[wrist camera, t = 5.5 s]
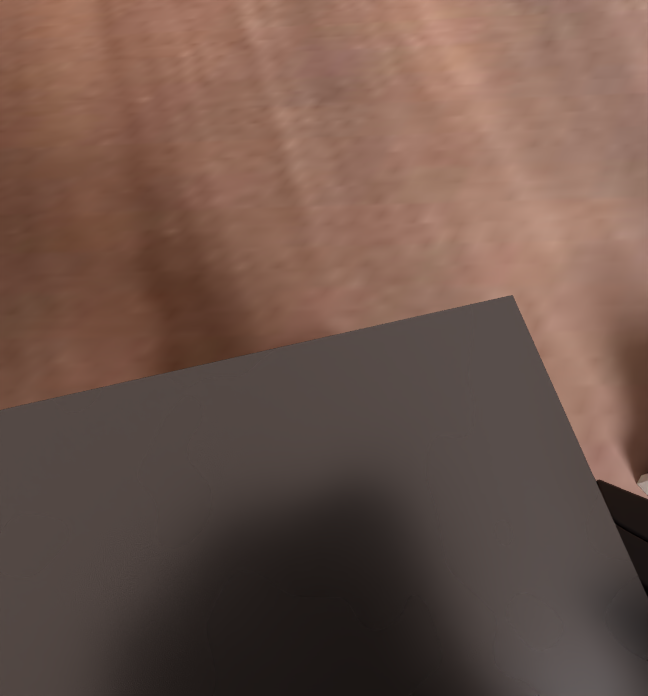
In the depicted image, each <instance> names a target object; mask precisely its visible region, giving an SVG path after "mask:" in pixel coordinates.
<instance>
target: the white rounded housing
mask: <svg viewBox="0 0 648 696" xmlns="http://www.w3.org/2000/svg"><path fill="white" fill-rule="evenodd" d="M637 484H638V486H639V487H640V488H641V489H642V490H643V491H644V492H645V493H646V494H647V495H648V474H644V475H641V477H640V479H639V480H638V482H637Z"/></svg>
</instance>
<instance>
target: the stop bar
mask: <svg viewBox="0 0 648 696" xmlns="http://www.w3.org/2000/svg"><path fill="white" fill-rule="evenodd" d="M0 696H648V597H647V595H646V592H645V590H644V588H643V586H642V584H641V581H640V579H639V577H638V575H637V572H636V570H635V568H634V566H633V563H632V561H631V559H630V557H629V554H628V552H627V550H626V548H625V546H624V543H623V541H622V539H621V537H620V534H619V532H618V530H617V528H616V525H615V523H614V521H613V519H612V516H611V514H610V512H609V510H608V507H607V505H606V503H605V501H604V499H603V496H602V494H601V492H600V490H599V487H598V485H597V483H596V481H595V478H594V476H593V474H592V472H591V469H590V467H589V465H588V463H587V461H586V458H585V456H584V454H583V452H582V449H581V447H580V445H579V443H578V440H577V438H576V436H575V434H574V431H573V429H572V427H571V425H570V422H569V420H568V418H567V416H566V414H565V411H564V409H563V407H562V405H561V402H560V400H559V398H558V396H557V393H556V391H555V389H554V387H553V384H552V382H551V380H550V378H549V376H548V373H547V371H546V369H545V367H544V364H543V362H542V360H541V358H540V355H539V353H538V351H537V349H536V346H535V344H534V342H533V340H532V337H531V335H530V333H529V331H528V329H527V326H526V324H525V322H524V320H523V317H522V315H521V313H520V311H519V308H518V306H517V304H516V302H515V299H514V297H513V295H511V296H506V297H502V298H497V299H493V300H488V301H484V302H479V303H475V304H470V305H466V306H462V307H457V308H453V309H448V310H444V311H439V312H435V313H430V314H426V315H421V316H417V317H413V318H408V319H404V320H399V321H395V322H390V323H386V324H381V325H377V326H372V327H368V328H364V329H359V330H355V331H350V332H346V333H341V334H337V335H332V336H328V337H323V338H319V339H315V340H310V341H306V342H301V343H297V344H292V345H288V346H283V347H279V348H275V349H270V350H266V351H261V352H257V353H252V354H248V355H243V356H239V357H234V358H230V359H226V360H221V361H217V362H212V363H208V364H203V365H199V366H194V367H190V368H185V369H181V370H177V371H172V372H168V373H163V374H159V375H154V376H150V377H145V378H141V379H136V380H132V381H128V382H123V383H119V384H114V385H110V386H105V387H101V388H96V389H92V390H87V391H83V392H79V393H74V394H70V395H65V396H61V397H56V398H52V399H47V400H43V401H38V402H34V403H30V404H25V405H21V406H16V407H12V408H7V409H3V410H0Z"/></svg>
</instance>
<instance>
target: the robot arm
mask: <svg viewBox="0 0 648 696" xmlns="http://www.w3.org/2000/svg"><path fill="white" fill-rule="evenodd" d="M595 481H596V480H595ZM596 483H597V485H598V487H599V490H600V492H601V494H602V496H603V499H604V501H605V503H606V505H607V507H608V510H609V512H610V514H611V516H612V519H613V521H614V523H615V525H616V528H617V530H618V532H619V534H620V537H621V539H622V541H623V543H624V546H625V548H626V550H627V552H628V554H629V557H630V559H631V561H632V563H633V566H634V568H635V570H636V572H637V575H638V577H639V579H640V581H641V584H642V586H643V588H644V590H645V592H646V595H647V597H648V499H646V498H644V497H641V496H639V495H636V494H634V493H631V492H629V491H626V490H624V489H621V488H619V487H616V486H614V485H612V484H609V483H607V482H604V481H602V480H597V481H596Z"/></svg>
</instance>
